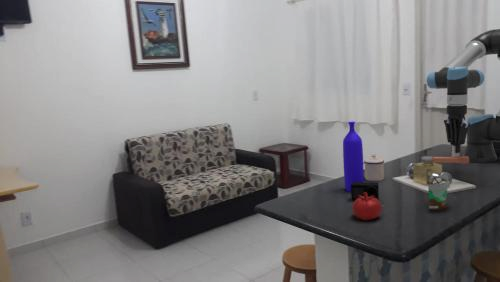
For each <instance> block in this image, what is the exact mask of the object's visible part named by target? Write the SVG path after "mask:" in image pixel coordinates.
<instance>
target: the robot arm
mask: <svg viewBox="0 0 500 282" xmlns="http://www.w3.org/2000/svg"><path fill="white" fill-rule="evenodd" d="M488 55H489V56H490V55H497V57H496V58H497V59H498V60H499V61H500V28H497V29H490V30H487V31H485V32H483V33H480V34H478V35H477V36H475V37H474V38H472V39H471V40H470V41H468V42H467V44H466V45H465V47H464V49H462V50H461V51H460V52H459V53H458V54H457V55H455V57H453V58H452V59H451V60H450V61H449V62H447V63H446V64H445V65H444V66H442V68H441V69H439V71H432V72H429V73H428V74H427V77H426V85H427V86H428V88H429V89H437V90H439V89H446V104H447V106H446V115H448V116H447V119H443V123H444V126H445V132H446V133H445V134H446V140H447V143H450V146H451V148H450V149H451V157H457V156H460V153H461V146H462V145H465V143H466V147H465V149H464V152H463V154H462V156H468V157H469V163H478V164H479V163H480V164H481V163H482V164H484V163H493V162H496V161H497V160H498V157H497V156H498V155H497V154H496V151H495V148H494V142H500V110H499V111H498V112H497V113H496V114H495V116H494V114H493V113H492V114H490V113H489V114H488V113H487V114H486V113H485V114H480V115H479V114H478V115H477V114H476V115H472V116H469V117H468V118H467V121H466V115H467V113H468V105H467V104H468V90H469V89H473V88H477V87H480V86H482V84H484V82H485V75H484V72H483V71H481V70H480V69H475V68H474V69H469V67H470V66H472V64H473V63H475V62H476V61H477V60H479V59H481V58H484V56H488Z"/></svg>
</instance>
